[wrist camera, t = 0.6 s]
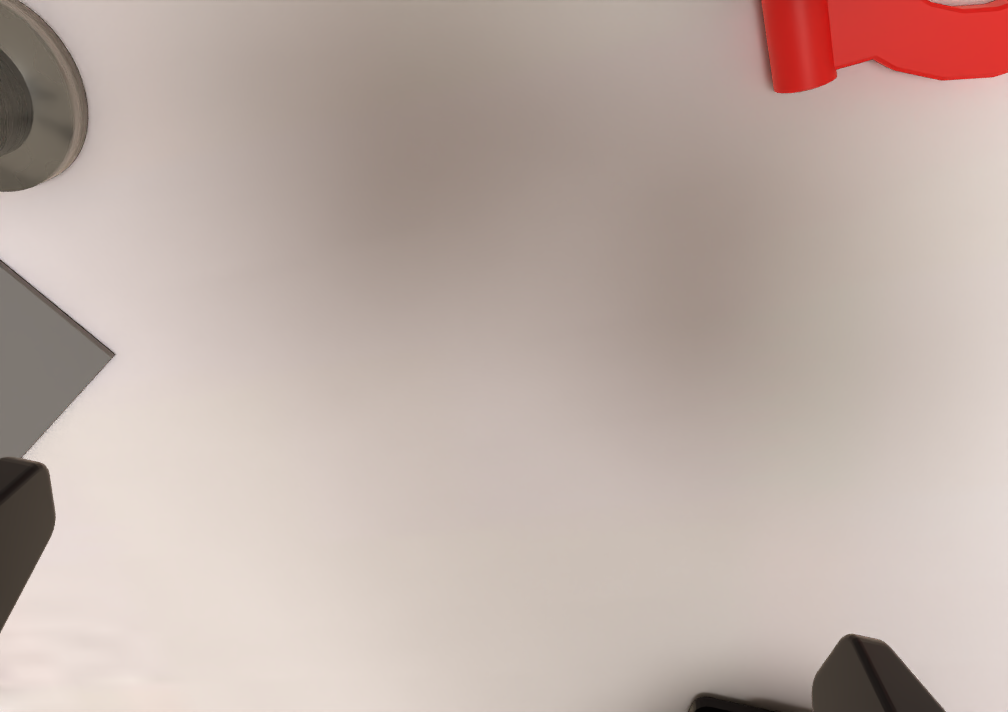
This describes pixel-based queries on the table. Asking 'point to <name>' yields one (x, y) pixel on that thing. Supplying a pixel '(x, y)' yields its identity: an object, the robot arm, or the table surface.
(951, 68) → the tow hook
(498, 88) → the table surface
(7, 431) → the mat
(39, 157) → the flanged metal post
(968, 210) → the table surface
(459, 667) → the table surface
